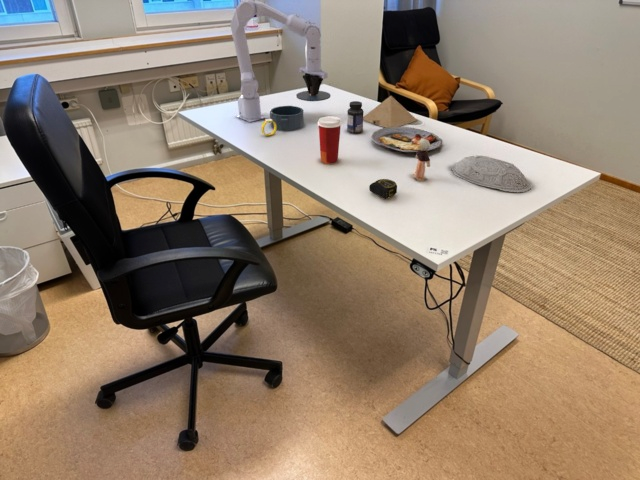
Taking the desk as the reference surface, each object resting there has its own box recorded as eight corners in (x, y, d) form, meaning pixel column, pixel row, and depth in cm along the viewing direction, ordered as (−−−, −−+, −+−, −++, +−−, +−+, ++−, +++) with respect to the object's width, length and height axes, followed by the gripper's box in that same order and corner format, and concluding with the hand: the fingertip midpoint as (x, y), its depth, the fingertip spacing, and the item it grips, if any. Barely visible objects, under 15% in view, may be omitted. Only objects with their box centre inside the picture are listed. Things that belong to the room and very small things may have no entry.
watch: (264, 137, 167) (263, 122, 164) (260, 135, 169) (259, 120, 166) (278, 134, 170) (277, 119, 167) (274, 132, 172) (273, 117, 169)
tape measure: (367, 193, 129) (368, 181, 127) (385, 187, 132) (386, 176, 130) (383, 202, 125) (384, 190, 123) (401, 196, 128) (402, 184, 126)
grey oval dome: (517, 196, 126) (523, 173, 123) (440, 174, 142) (444, 153, 139) (539, 185, 136) (545, 163, 133) (465, 165, 152) (469, 145, 149)
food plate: (453, 144, 162) (454, 134, 160) (418, 163, 148) (419, 153, 146) (396, 128, 176) (397, 119, 174) (359, 144, 162) (359, 134, 160)
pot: (267, 133, 171) (266, 117, 168) (274, 118, 187) (273, 103, 184) (301, 133, 171) (301, 118, 168) (305, 118, 186) (304, 104, 183)
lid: (294, 102, 177) (294, 90, 174) (297, 92, 188) (297, 81, 186) (330, 102, 176) (330, 91, 174) (330, 93, 188) (331, 82, 185)
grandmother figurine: (406, 175, 140) (411, 136, 133) (416, 172, 141) (421, 134, 134) (422, 184, 134) (428, 144, 127) (432, 182, 136) (438, 142, 129)
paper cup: (343, 157, 151) (344, 117, 144) (336, 166, 145) (337, 124, 138) (321, 155, 153) (321, 114, 146) (314, 163, 147) (313, 121, 140)
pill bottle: (362, 129, 175) (364, 100, 169) (362, 134, 170) (364, 105, 164) (347, 128, 176) (348, 100, 170) (346, 133, 171) (347, 105, 165)
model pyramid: (359, 119, 185) (360, 95, 179) (386, 111, 194) (388, 87, 189) (390, 130, 174) (392, 104, 169) (417, 120, 184) (420, 95, 179)
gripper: (333, 59, 172) (332, 95, 179) (308, 54, 181) (309, 88, 188) (319, 62, 168) (319, 98, 175) (295, 56, 177) (296, 91, 184)
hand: (313, 93), depth 181 cm, fingers closed on lid, 2 cm apart
